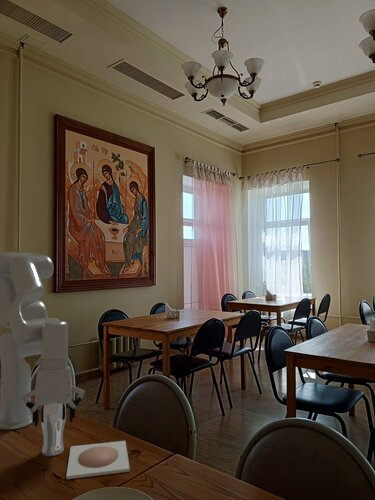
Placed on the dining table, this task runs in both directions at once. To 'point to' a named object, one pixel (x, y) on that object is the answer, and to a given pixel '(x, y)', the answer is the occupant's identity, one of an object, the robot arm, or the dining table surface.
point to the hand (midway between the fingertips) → (54, 422)
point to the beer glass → (53, 428)
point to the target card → (97, 459)
